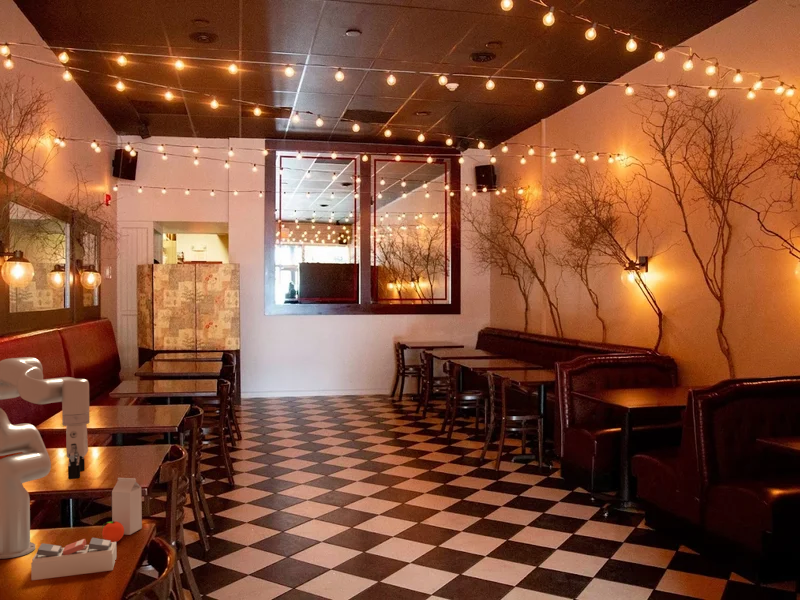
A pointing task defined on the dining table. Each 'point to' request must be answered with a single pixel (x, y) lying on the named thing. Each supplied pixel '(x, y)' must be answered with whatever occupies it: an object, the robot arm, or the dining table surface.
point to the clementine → (113, 531)
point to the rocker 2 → (99, 544)
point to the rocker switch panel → (73, 563)
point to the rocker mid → (74, 547)
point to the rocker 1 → (49, 550)
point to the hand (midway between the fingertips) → (76, 474)
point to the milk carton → (127, 504)
